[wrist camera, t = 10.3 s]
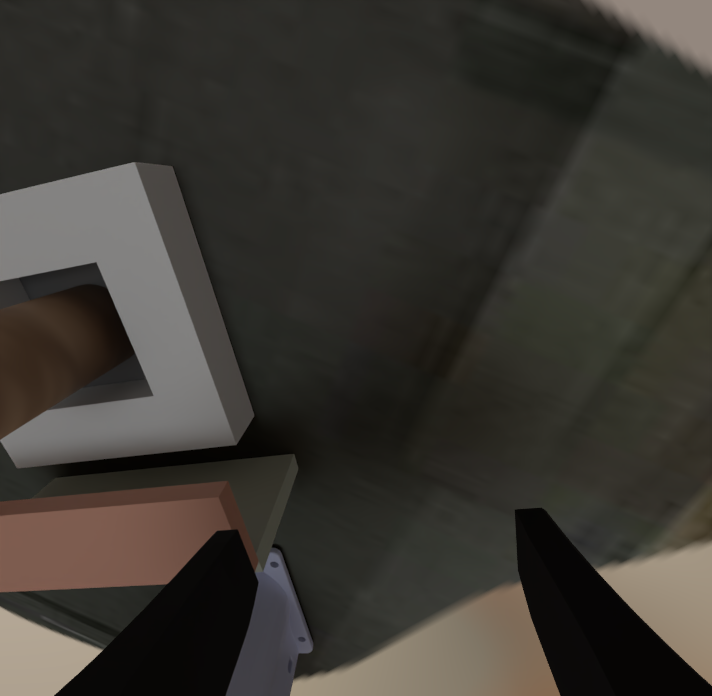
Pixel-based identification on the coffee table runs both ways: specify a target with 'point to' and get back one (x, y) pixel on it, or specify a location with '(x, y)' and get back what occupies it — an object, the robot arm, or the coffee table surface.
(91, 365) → the peg
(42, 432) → the socket block
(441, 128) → the coffee table surface
